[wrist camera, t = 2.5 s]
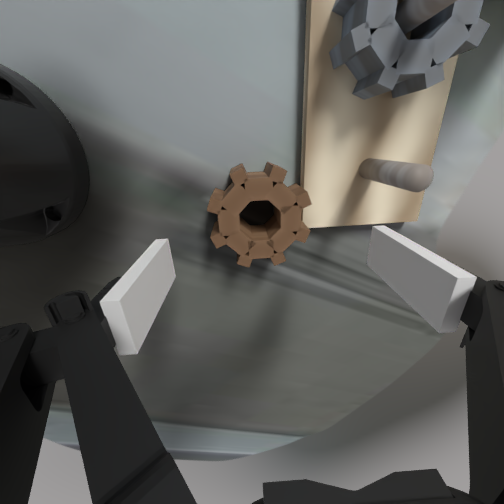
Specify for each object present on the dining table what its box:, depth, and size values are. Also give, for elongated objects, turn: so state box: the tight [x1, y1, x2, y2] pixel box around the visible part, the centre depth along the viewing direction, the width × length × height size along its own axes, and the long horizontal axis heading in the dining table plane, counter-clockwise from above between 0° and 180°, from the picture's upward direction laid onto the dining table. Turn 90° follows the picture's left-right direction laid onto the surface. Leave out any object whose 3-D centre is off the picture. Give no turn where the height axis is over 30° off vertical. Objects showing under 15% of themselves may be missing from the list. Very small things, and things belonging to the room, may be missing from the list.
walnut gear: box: [207, 162, 312, 267], centre depth 23 cm, size 9×9×4 cm
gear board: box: [300, 0, 491, 228], centre depth 18 cm, size 12×22×8 cm, turn 3°
